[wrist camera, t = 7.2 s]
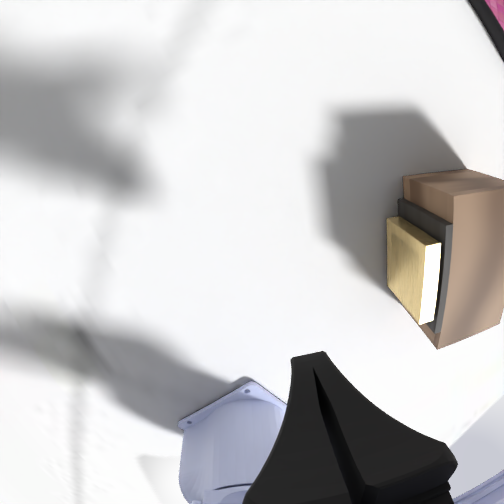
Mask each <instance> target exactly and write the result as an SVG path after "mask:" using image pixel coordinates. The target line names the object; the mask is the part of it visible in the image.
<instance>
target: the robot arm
mask: <svg viewBox="0 0 504 504" xmlns="http://www.w3.org/2000/svg"><path fill="white" fill-rule="evenodd" d="M291 368H292V375H291V386H290V392H289V398H288V403H287V405H286V404H285V403H283V402H282V401H280V400H279V399H278V398H276V397H275V396H274V395H272V394H271V393H269V392H268V391H267V390H265V389H264V388H263V387H261V386H260V385H259V384H257V383H256V382H248V383H246V384H245V385H243V386H241V387H240V388H238V389H236V390H235V391H233V392H231V393H229V394H228V395H226V396H224V397H222V398H221V399H219V400H217V401H215V402H214V403H212V404H210V405H208V406H206V407H205V408H203V409H201V410H199V411H197V412H195V413H194V414H192V415H190V416H188V417H186V418H184V419H182V420H180V421H179V422H178V425H177V426H178V427H179V428H181V429H182V430H184V436H183V444H182V452H181V461H180V470H179V484H180V488H181V491H182V493H183V496H184V498H185V499H186V500H187V501H188V503H189V504H504V470H502V471H501V472H500V473H498V474H496V475H495V476H493V477H491V478H490V479H488V480H487V481H485V482H483V483H482V484H480V485H478V486H476V487H475V488H473V489H471V490H469V491H467V492H466V493H464V494H462V495H460V496H458V497H456V498H454V499H452V498H451V495H450V493H449V490H450V489H451V487H450V485H449V482H448V480H449V478H450V477H451V476H452V474H453V473H454V471H455V470H456V468H457V465H458V463H457V461H456V459H455V456H454V455H453V453H452V452H451V451H450V449H449V448H448V447H447V445H446V444H445V443H443V442H441V441H438V440H435V439H433V438H430V437H428V436H425V435H423V434H421V433H419V432H417V431H415V430H413V429H411V428H409V427H407V426H406V425H404V424H402V423H400V422H399V421H397V420H395V419H394V418H392V417H391V416H389V415H388V414H386V413H385V412H383V411H382V410H381V409H379V408H378V407H377V406H375V405H374V404H373V403H372V402H370V401H369V400H368V399H367V398H366V397H365V396H364V395H362V394H361V393H360V392H359V391H358V390H357V389H356V388H355V387H354V386H353V385H352V384H351V383H350V382H349V381H348V380H347V379H346V378H345V377H344V375H343V374H342V373H341V372H340V371H339V370H338V368H337V367H336V366H335V365H334V364H333V362H332V361H331V360H330V358H329V357H328V355H327V354H326V352H324V351H321V352H316V353H312V354H307V355H302V356H297V357H293V358H292V359H291ZM246 389H249V390H246Z"/></svg>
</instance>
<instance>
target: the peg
mask: <svg viewBox="0 0 504 504" xmlns="http://www.w3.org/2000/svg"><path fill="white" fill-rule="evenodd" d="M386 220H387V286H388V287H389V288H390V290H391V291H392V292H393V293H394V294H395V295H396V297H397V298H398V299H399V300H400V301H401V303H402V304H403V305H404V306H405V307H406V309H407V310H408V311H409V312H410V314H411V315H412V316H413V317H414V318H415V320H416V321H417V322H418V323H419V324H423V323H426V322H429V321H432V320H433V316H434V309H435V302H436V294H437V285H438V275H439V264H440V249H441V243H440V242H439V241H437V240H436V239H434V238H433V237H431V236H430V235H428V234H427V233H425V232H424V231H422V230H421V229H419V228H418V227H416V226H414V225H413V224H411V223H410V222H408V221H407V220H405V219H403V218H402V217H400V216H397V217H391V218H386Z"/></svg>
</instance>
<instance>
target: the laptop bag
mask: <svg viewBox="0 0 504 504" xmlns="http://www.w3.org/2000/svg"><path fill="white" fill-rule="evenodd" d="M469 2H470V3H471V5H472V6H473V8H474V9H475V11H476V13H477V14H478V16H479V17H480V19H481V21H482V22H483V24H484V26H485V27H486V29H487V31H488V33H489V34H490V36H491V38H492V40H493V42H494V44H495V45H496V47H497V49H498V51H499V53H500V55H501V57H502V59H503V61H504V0H469Z"/></svg>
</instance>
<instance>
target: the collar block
mask: <svg viewBox="0 0 504 504" xmlns="http://www.w3.org/2000/svg"><path fill="white" fill-rule="evenodd" d="M403 189H404V198H402V199H398V216H400V217H402V218H403V219H405V220H407V221H408V222H410V223H411V224H413V225H414V226H416V227H418V228H419V229H421V230H422V231H424V232H425V233H427V234H428V235H430V236H431V237H433V238H434V239H436V240H437V241H439V242H440V243H441V249H440V264H439V275H438V285H437V294H436V302H435V309H434V316H433V320H432V321H429V322H426V323H423V324H419V323H418V322H417V321H416V320H415V318H414V317H413V316H412V315H411V314H410V312H409V311H408V310H407V309H406V307H405V306H404V305H403V304H402V306H403V307H404V308H405V309H406V311H407V312H408V313H409V314H410V316H411V317H412V318H413V319H414V320H415V322H416V323H417V324H418V326H419V327H420V328H421V329H422V331H423V332H424V333H425V334H426V336H427V337H428V338H429V340H430V341H431V342H432V343H433V345H434V346H435V347H436V349H437V350H438V349H440V348H443V347H446V346H448V345H451V344H453V343H456V342H458V341H461V340H463V339H466V338H468V337H471V336H473V335H475V334H478V333H480V332H482V331H484V330H487V329H489V328H491V327H493V326H496V325H498V324H499V323H500V320H501V316H502V312H503V308H504V180H502V179H499V178H496V177H492V176H489V175H486V174H483V173H480V172H476V171H473V170H469V169H462V170H452V171H443V172H434V173H425V174H417V175H409V176H403Z"/></svg>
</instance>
